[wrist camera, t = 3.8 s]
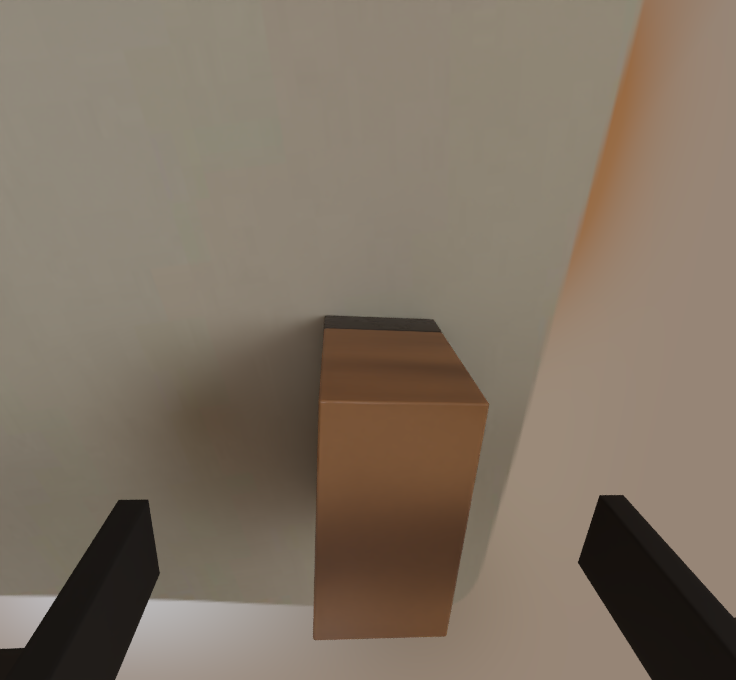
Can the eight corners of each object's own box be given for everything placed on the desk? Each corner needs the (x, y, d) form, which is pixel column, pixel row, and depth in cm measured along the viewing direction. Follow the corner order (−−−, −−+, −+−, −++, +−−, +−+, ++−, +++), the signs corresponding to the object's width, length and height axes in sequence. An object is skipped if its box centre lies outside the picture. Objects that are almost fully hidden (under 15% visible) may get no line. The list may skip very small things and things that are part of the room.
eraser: (324, 315, 17) (318, 400, 11) (433, 319, 18) (490, 404, 11) (319, 493, 21) (312, 641, 14) (412, 493, 21) (446, 637, 15)
